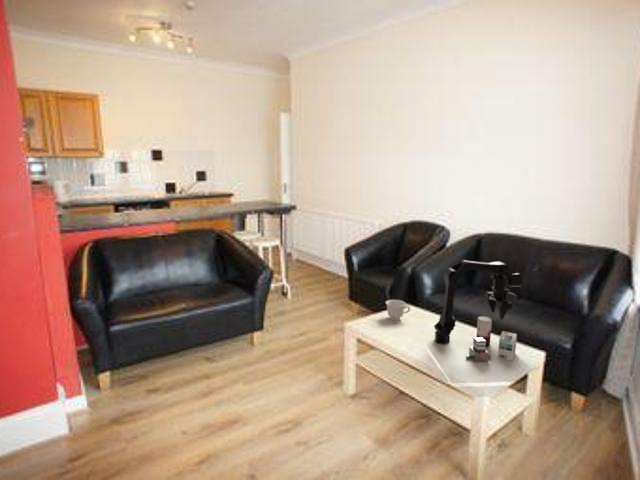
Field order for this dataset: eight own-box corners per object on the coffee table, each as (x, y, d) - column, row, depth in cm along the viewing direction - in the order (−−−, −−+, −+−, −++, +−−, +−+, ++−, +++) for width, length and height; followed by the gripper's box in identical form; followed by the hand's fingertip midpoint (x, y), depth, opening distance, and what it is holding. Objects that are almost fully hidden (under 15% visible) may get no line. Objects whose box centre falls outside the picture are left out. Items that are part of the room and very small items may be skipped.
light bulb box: (512, 363, 185) (514, 341, 183) (497, 359, 188) (498, 338, 186) (515, 354, 194) (517, 333, 192) (500, 350, 197) (502, 330, 195)
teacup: (405, 325, 229) (406, 308, 227) (381, 319, 237) (382, 304, 235) (412, 318, 239) (413, 302, 237) (390, 313, 247) (390, 298, 245)
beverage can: (492, 348, 199) (494, 320, 197) (479, 349, 199) (481, 321, 196) (485, 343, 206) (487, 315, 203) (473, 343, 205) (475, 316, 202)
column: (475, 360, 185) (477, 341, 183) (472, 356, 189) (473, 337, 187) (484, 360, 185) (486, 341, 183) (480, 356, 189) (482, 337, 187)
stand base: (470, 367, 181) (471, 355, 180) (460, 355, 193) (461, 343, 192) (496, 367, 182) (497, 354, 181) (484, 354, 193) (485, 343, 192)
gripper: (525, 292, 192) (522, 322, 195) (505, 281, 210) (503, 309, 213) (502, 292, 192) (500, 323, 195) (485, 281, 210) (483, 309, 213)
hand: (497, 315), depth 204 cm, fingers open, 9 cm apart
